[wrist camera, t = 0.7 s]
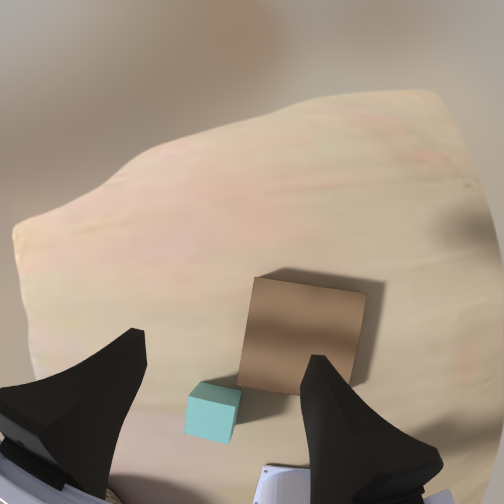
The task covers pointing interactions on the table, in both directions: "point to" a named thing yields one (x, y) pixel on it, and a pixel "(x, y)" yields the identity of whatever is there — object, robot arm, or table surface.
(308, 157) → the table surface
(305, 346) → the walnut plinth
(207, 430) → the teal cube
